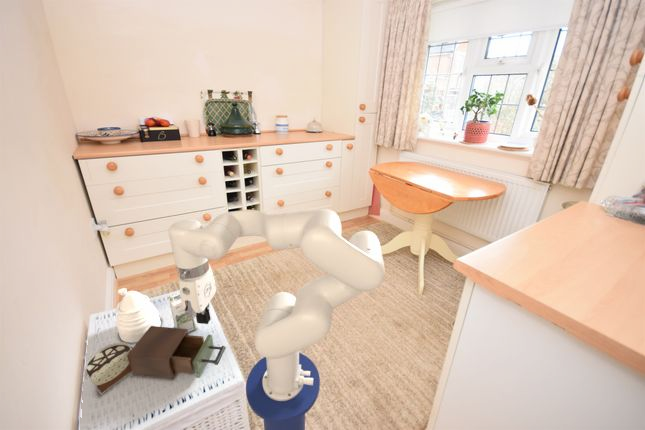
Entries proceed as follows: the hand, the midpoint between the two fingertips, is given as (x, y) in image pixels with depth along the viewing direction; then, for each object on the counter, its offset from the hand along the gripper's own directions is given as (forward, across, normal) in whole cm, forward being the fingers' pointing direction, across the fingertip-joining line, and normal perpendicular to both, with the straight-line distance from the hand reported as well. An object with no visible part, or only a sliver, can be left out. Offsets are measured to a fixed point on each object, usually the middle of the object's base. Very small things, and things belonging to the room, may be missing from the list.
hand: (204, 321), depth 82 cm
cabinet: (+22, +3, +18) cm, 28 cm away
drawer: (+21, +3, +7) cm, 22 cm away
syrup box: (+22, +16, +18) cm, 33 cm away
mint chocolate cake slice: (+22, -4, +30) cm, 37 cm away
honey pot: (+21, +14, +34) cm, 43 cm away
